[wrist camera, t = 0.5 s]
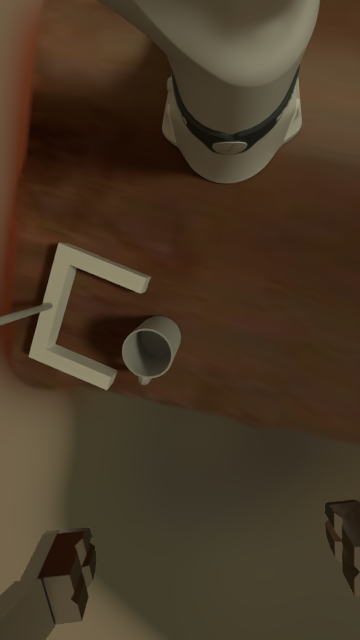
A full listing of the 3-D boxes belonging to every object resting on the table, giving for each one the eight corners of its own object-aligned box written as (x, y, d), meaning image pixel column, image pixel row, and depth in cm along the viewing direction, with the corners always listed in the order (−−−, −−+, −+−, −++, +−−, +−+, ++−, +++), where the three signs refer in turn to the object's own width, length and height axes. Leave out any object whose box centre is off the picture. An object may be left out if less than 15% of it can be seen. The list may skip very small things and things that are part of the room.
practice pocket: (150, 276, 47) (98, 294, 27) (113, 382, 52) (45, 464, 32) (68, 243, 48) (-44, 236, 27) (39, 351, 53) (-75, 412, 33)
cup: (186, 321, 48) (178, 336, 39) (171, 376, 51) (161, 401, 42) (143, 309, 49) (127, 322, 40) (131, 364, 51) (113, 387, 42)
